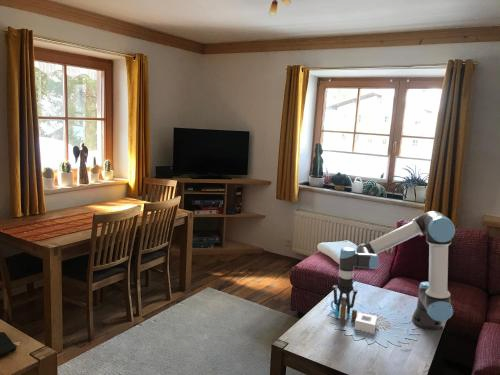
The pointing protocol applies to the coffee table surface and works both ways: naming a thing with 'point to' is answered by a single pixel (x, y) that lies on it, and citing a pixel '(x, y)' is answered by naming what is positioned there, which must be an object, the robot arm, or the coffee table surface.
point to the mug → (336, 309)
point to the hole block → (366, 322)
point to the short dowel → (354, 315)
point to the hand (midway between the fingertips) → (342, 317)
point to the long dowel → (343, 310)
